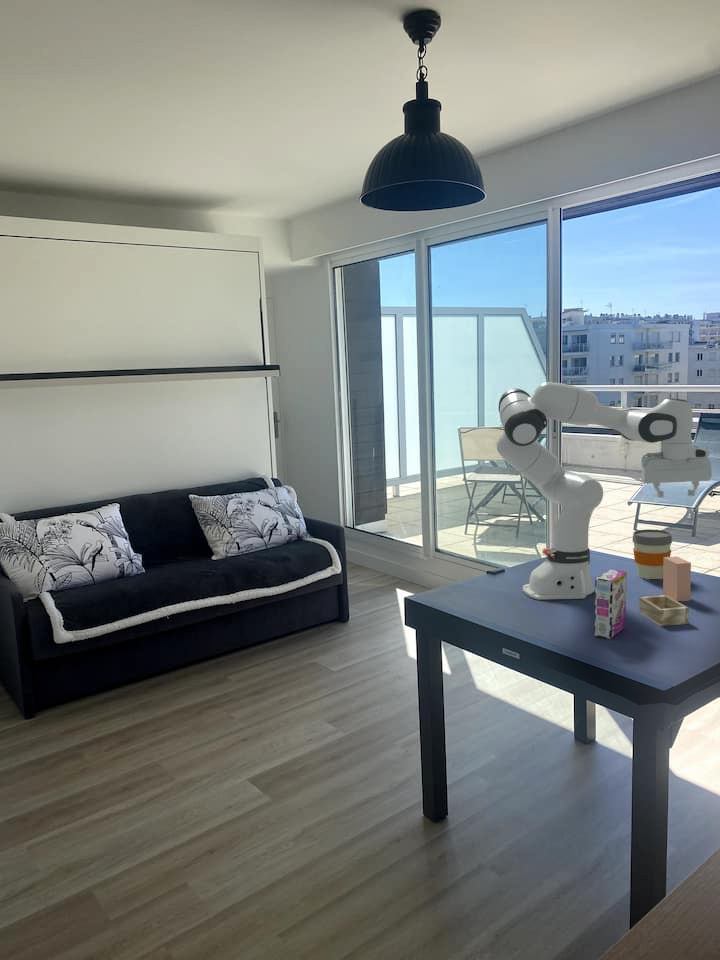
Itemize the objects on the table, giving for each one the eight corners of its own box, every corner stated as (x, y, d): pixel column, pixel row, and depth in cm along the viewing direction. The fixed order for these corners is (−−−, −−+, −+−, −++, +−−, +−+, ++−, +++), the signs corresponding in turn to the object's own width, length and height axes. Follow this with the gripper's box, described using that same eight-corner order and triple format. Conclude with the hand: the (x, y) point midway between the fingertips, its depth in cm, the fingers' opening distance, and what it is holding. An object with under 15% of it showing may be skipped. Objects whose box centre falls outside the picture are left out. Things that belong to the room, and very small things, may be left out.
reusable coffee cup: (634, 581, 245) (634, 537, 243) (630, 570, 257) (630, 529, 255) (674, 581, 242) (675, 537, 240) (668, 571, 254) (668, 529, 252)
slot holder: (659, 626, 204) (660, 610, 203) (639, 612, 215) (639, 597, 215) (688, 623, 204) (688, 607, 204) (666, 609, 216) (666, 594, 215)
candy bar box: (612, 640, 195) (612, 581, 193) (593, 636, 198) (593, 578, 196) (627, 627, 204) (627, 570, 201) (609, 624, 207) (609, 568, 204)
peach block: (676, 602, 223) (677, 563, 221) (663, 594, 231) (663, 557, 229) (690, 600, 223) (690, 562, 221) (676, 593, 231) (676, 556, 229)
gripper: (645, 454, 219) (645, 499, 221) (714, 451, 218) (713, 496, 220) (638, 452, 225) (637, 496, 227) (705, 449, 225) (704, 493, 227)
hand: (675, 496), depth 224 cm, fingers open, 8 cm apart
